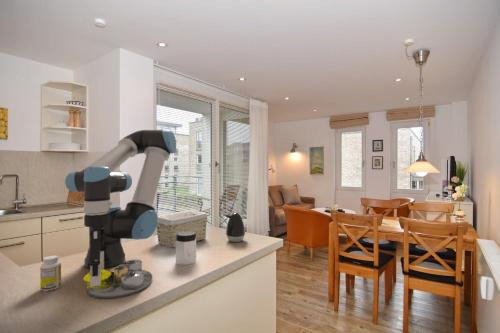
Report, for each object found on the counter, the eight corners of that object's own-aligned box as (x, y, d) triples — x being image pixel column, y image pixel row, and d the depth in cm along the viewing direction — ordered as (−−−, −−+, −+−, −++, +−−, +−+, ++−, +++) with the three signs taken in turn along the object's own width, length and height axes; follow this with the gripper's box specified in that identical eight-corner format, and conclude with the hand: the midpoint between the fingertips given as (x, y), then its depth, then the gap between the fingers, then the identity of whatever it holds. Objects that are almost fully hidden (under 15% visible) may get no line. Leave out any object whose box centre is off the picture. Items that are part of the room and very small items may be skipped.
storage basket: (171, 249, 132) (171, 219, 132) (153, 243, 142) (153, 215, 142) (208, 239, 150) (208, 212, 150) (190, 234, 160) (190, 209, 160)
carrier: (72, 292, 87) (72, 273, 87) (122, 270, 106) (122, 253, 106) (120, 303, 80) (120, 282, 80) (164, 277, 99) (164, 260, 99)
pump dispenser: (223, 239, 150) (223, 211, 150) (242, 237, 153) (242, 210, 153) (228, 244, 140) (227, 214, 140) (247, 242, 143) (247, 213, 143)
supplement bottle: (54, 283, 94) (53, 253, 94) (65, 285, 92) (64, 255, 92) (36, 290, 89) (36, 259, 89) (47, 293, 87) (47, 261, 87)
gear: (103, 276, 95) (78, 285, 89) (103, 266, 95) (78, 273, 89) (116, 282, 91) (91, 291, 84) (116, 271, 91) (91, 279, 84)
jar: (179, 266, 109) (179, 236, 109) (172, 260, 116) (172, 232, 116) (199, 262, 114) (199, 233, 114) (192, 256, 121) (192, 229, 121)
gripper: (107, 218, 80) (108, 290, 80) (112, 207, 103) (112, 263, 103) (77, 221, 77) (78, 295, 77) (89, 208, 99) (89, 266, 99)
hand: (97, 277), depth 90 cm, fingers open, 13 cm apart
